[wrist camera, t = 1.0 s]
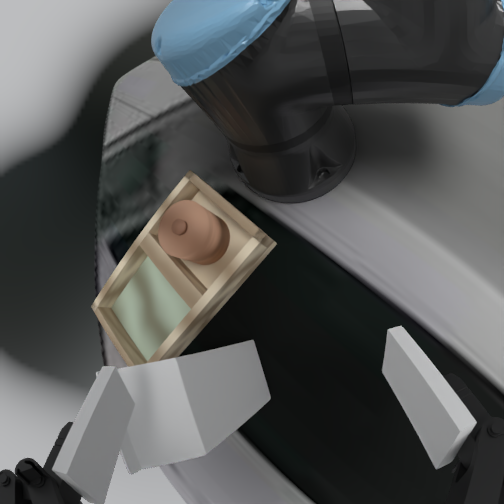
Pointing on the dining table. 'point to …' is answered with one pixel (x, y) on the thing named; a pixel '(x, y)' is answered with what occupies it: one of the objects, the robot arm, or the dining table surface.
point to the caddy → (179, 273)
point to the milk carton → (190, 403)
